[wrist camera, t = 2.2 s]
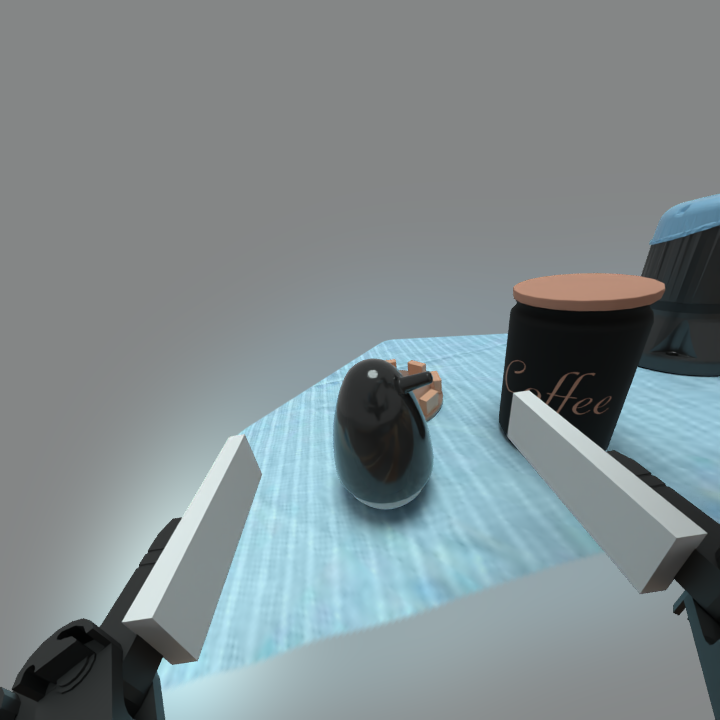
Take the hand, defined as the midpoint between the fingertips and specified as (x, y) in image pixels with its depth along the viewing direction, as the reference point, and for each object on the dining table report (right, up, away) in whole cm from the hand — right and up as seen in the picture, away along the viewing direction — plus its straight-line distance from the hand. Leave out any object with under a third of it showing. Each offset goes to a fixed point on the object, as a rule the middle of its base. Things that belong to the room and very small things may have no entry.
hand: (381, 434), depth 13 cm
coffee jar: (+22, -5, +19) cm, 29 cm away
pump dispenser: (+2, -10, +16) cm, 19 cm away
